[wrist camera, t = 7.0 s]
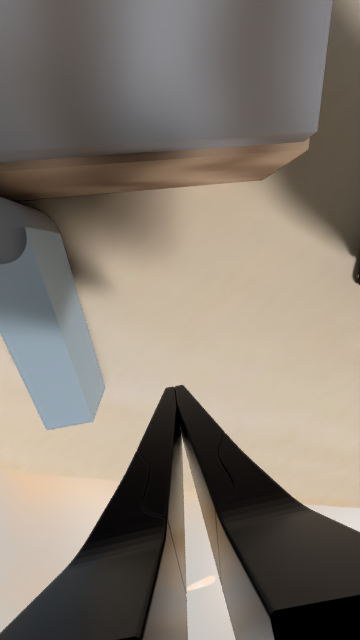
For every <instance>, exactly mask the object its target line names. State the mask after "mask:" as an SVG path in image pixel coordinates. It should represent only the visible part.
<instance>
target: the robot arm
mask: <svg viewBox="0 0 360 640" xmlns="http://www.w3.org/2000/svg"><path fill="white" fill-rule="evenodd" d="M358 284H359V285H360V274H359V278H358ZM180 427H181V428H180ZM181 433H182V435H181ZM182 438H183V443H184V446H185V450H186V454H187V458H188V461H189V465H190V469H191V473H192V476H193V480H194V484H195V488H196V492H197V495H198V499H199V502H200V506H201V510H202V514H203V518H204V522H205V525H206V529H207V533H208V537H209V540H210V544H211V548H212V551H213V556H214V559H215V563H216V566H217V570H218V574H219V578H220V582H221V585H222V589H223V593H224V597H225V601H226V604H227V608H228V612H229V616H230V620H231V623H232V627H233V631H234V635H235V638H236V640H360V532H358V531H356V530H354V529H352V528H350V527H347V526H345V525H343V524H341V523H339V522H337V521H335V520H332V519H330V518H328V517H326V516H324V515H321V514H319V513H317V512H315V511H313V510H311V509H309V508H308V507H306V506H304V505H303V504H301V503H300V502H299V501H297V500H296V499H295V498H293V497H292V496H291V495H290V494H289V493H287V492H286V491H285V490H284V489H283V488H282V487H281V486H280V485H279V484H277V483H276V482H275V481H274V480H273V479H272V478H271V477H270V476H269V475H268V474H266V473H265V472H264V471H263V470H262V469H261V468H260V467H259V466H258V465H257V464H255V463H254V462H253V461H252V460H251V459H250V458H249V457H248V456H247V455H246V454H245V453H244V452H243V451H242V450H241V449H240V448H239V447H238V446H237V445H236V444H235V443H234V442H233V441H232V440H231V438H230V437H229V436H228V435H227V434H226V433H225V432H224V431H223V430H222V428H221V427H220V426H219V425H218V424H217V423H216V422H215V420H214V419H213V418H212V417H211V416H210V415H209V414H208V413H207V411H206V410H205V409H204V408H203V407H202V406H201V405H200V404H199V402H198V401H197V400H196V399H195V398H194V397H193V396H192V394H191V393H190V392H189V391H188V390H187V389H186V388H185V387H184V386H183V385H179V386H175V388H174V387H168V388H166V389H165V391H164V393H163V395H162V397H161V399H160V401H159V404H158V406H157V408H156V410H155V412H154V414H153V416H152V419H151V421H150V423H149V425H148V427H147V429H146V432H145V434H144V436H143V438H142V440H141V442H140V444H139V447H138V449H137V451H136V453H135V455H134V457H133V459H132V461H131V463H130V465H129V467H128V469H127V471H126V473H125V475H124V477H123V479H122V481H121V482H120V485H119V486H118V488H117V490H116V491H115V493H114V495H113V496H112V498H111V500H110V502H109V503H108V505H107V507H106V508H105V510H104V512H103V513H102V515H101V517H100V519H99V520H98V522H97V524H96V526H95V527H94V529H93V531H92V532H91V534H90V535H89V537H88V539H87V540H86V542H85V544H84V545H83V546H82V548H81V549H80V551H79V552H78V554H77V555H76V556H75V558H74V559H73V560H72V561H71V563H70V564H69V565H68V566H67V567H66V568H65V569H64V570H63V571H62V573H61V574H59V576H57V578H55V579H54V580H53V582H51V583H50V584H49V585H48V586H47V587H46V588H45V589H44V590H43V591H42V592H41V593H40V594H39V595H38V596H37V597H36V598H35V599H34V600H33V601H32V602H31V603H30V604H29V605H28V606H27V607H26V608H25V609H24V610H23V611H22V612H21V613H20V614H19V615H18V616H17V617H16V618H15V619H14V620H13V621H12V622H11V623H10V624H9V625H8V626H7V627H6V628H5V629H4V630H3V631H2V632H1V633H0V640H188V632H187V598H186V564H185V530H184V495H183V460H182Z"/></svg>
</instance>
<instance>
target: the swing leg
mask: <svg viewBox="0 0 360 640" xmlns="http://www.w3.org/2000/svg"><path fill="white" fill-rule="evenodd" d="M0 333H1V335H2V337H3V340H4V342H5V344H6V346H7V348H8V350H9V352H10V354H11V356H12V358H13V361H14V363H15V365H16V367H17V369H18V371H19V373H20V375H21V377H22V379H23V382H24V384H25V386H26V388H27V390H28V392H29V394H30V396H31V398H32V400H33V403H34V405H35V407H36V409H37V411H38V413H39V415H40V417H41V419H42V421H43V424H44V426H45V428H46V430H51V429H56V428H62V427H67V426H73V425H79V424H84V423H90V422H93V421H94V418H95V415H96V412H97V409H98V407H99V404H100V401H101V398H102V395H103V393H104V390H105V384H104V381H103V378H102V374H101V371H100V367H99V364H98V360H97V357H96V354H95V350H94V347H93V343H92V340H91V337H90V333H89V330H88V326H87V323H86V320H85V316H84V313H83V309H82V306H81V303H80V299H79V296H78V292H77V289H76V286H75V282H74V279H73V275H72V272H71V269H70V265H69V262H68V258H67V255H66V252H65V248H64V245H63V241H62V238H61V235H60V232H59V229H58V227H57V226H56V224H55V223H54V221H53V220H52V219H51V218H50V217H49V216H47V215H46V214H44V213H43V212H41V211H38V210H36V209H33V208H30V207H27V206H25V205H22V204H19V203H16V202H14V201H11V200H8V199H5V198H2V197H0Z"/></svg>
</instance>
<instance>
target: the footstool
mask: <svg viewBox="0 0 360 640" xmlns="http://www.w3.org/2000/svg"><path fill="white" fill-rule="evenodd" d="M332 3H333V0H0V197H2V198H5V199H8V200H11V201H21V200H33V199H44V198H56V197H68V196H80V195H91V194H103V193H115V192H127V191H138V190H150V189H162V188H174V187H185V186H197V185H209V184H221V183H232V182H244V181H256V180H263V179H265V178H266V177H268V176H269V175H271V174H272V173H274V172H275V171H277V170H278V169H280V168H281V167H283V166H284V165H286V164H287V163H289V162H290V161H292V160H293V159H295V158H296V157H298V156H300V155H301V154H303V153H304V152H306V151H307V150H309V141H310V137H311V136H312V135H313V134H315V133H316V132H317V131H318V122H319V114H320V105H321V97H322V88H323V80H324V71H325V63H326V54H327V46H328V37H329V29H330V20H331V12H332Z"/></svg>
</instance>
